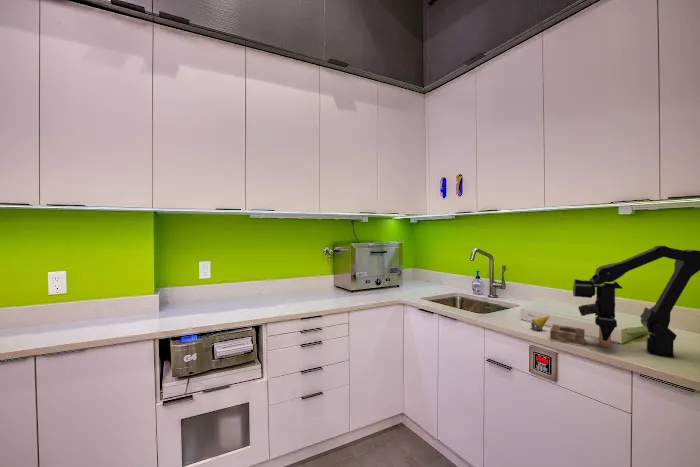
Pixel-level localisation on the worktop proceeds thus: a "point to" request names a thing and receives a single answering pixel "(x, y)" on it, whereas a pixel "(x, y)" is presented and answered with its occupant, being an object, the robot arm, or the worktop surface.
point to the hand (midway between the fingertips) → (604, 339)
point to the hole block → (567, 335)
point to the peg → (601, 341)
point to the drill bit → (539, 323)
